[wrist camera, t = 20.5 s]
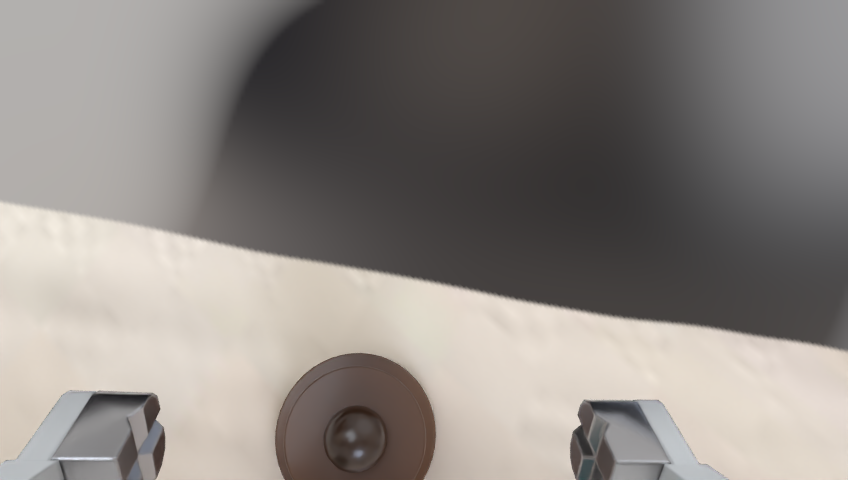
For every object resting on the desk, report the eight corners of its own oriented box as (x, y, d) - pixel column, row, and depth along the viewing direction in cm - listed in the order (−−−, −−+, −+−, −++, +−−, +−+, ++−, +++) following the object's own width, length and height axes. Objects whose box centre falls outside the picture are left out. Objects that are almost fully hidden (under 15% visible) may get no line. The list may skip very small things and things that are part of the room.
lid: (414, 340, 27) (438, 305, 19) (450, 494, 25) (493, 530, 17) (265, 374, 26) (222, 352, 18) (291, 538, 24) (256, 598, 16)
